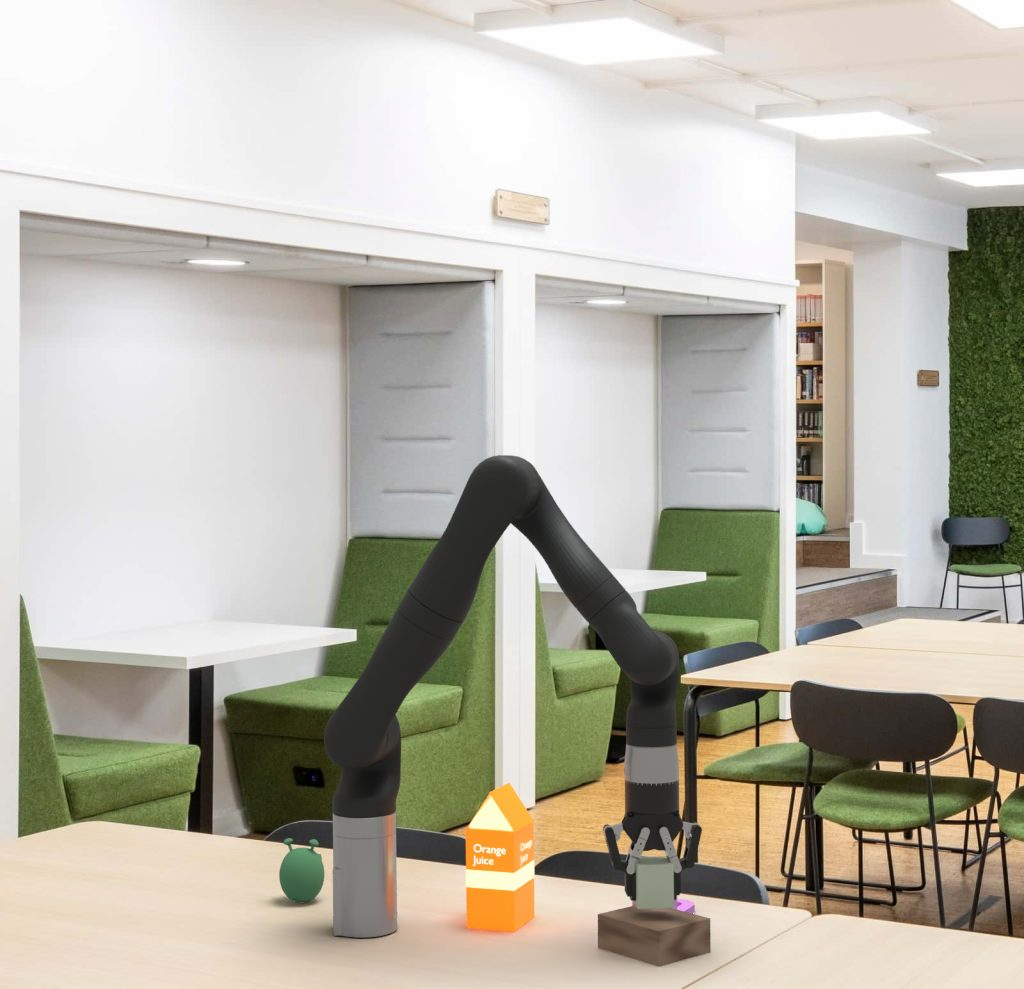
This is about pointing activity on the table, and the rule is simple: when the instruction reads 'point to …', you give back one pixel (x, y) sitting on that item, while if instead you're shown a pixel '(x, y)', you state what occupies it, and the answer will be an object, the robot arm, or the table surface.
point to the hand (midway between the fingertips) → (652, 898)
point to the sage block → (654, 883)
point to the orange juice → (500, 863)
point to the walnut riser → (654, 934)
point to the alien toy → (301, 872)
